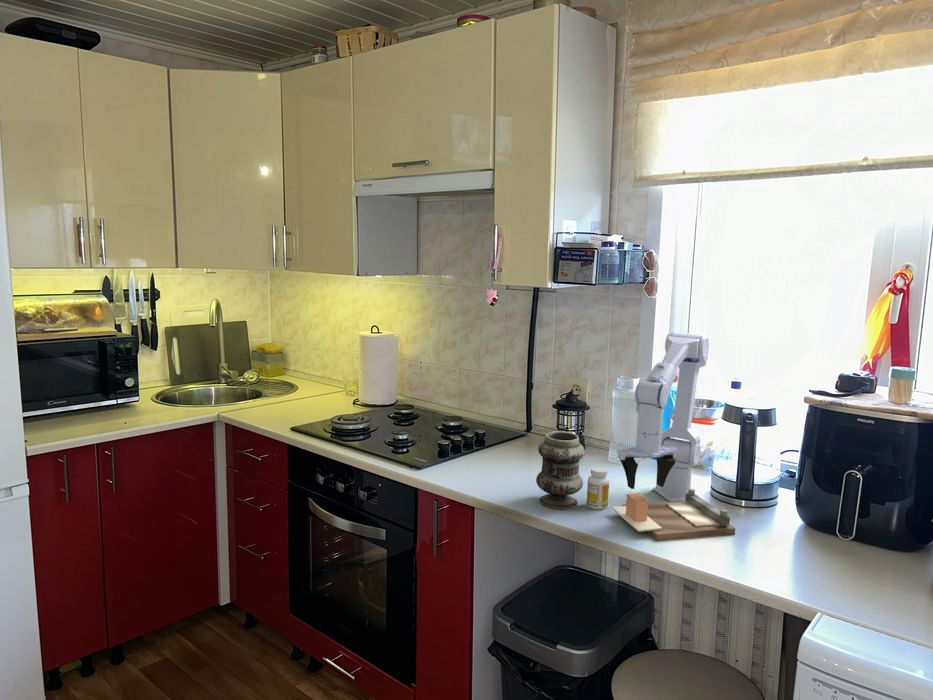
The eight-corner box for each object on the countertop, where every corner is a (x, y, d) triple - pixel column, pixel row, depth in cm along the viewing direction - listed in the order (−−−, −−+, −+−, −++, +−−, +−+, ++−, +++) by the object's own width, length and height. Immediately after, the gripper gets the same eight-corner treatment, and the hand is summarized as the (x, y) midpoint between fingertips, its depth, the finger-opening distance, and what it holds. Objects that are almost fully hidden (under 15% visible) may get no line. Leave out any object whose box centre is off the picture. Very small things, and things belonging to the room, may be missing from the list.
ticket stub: (611, 508, 170) (613, 487, 169) (634, 506, 171) (635, 486, 170) (638, 531, 156) (639, 509, 155) (662, 529, 158) (663, 507, 157)
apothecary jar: (570, 515, 169) (573, 444, 166) (527, 504, 175) (529, 436, 173) (589, 500, 179) (592, 433, 176) (547, 490, 185) (550, 426, 183)
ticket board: (621, 510, 173) (623, 491, 172) (693, 505, 177) (694, 486, 176) (657, 540, 155) (658, 519, 155) (734, 534, 160) (736, 513, 159)
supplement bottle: (605, 502, 178) (607, 466, 177) (610, 510, 173) (612, 473, 171) (584, 501, 178) (586, 466, 176) (588, 509, 173) (590, 472, 171)
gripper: (628, 437, 156) (625, 494, 158) (685, 434, 159) (681, 490, 161) (615, 429, 163) (612, 483, 165) (670, 426, 166) (666, 480, 168)
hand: (645, 486), depth 164 cm, fingers open, 7 cm apart
